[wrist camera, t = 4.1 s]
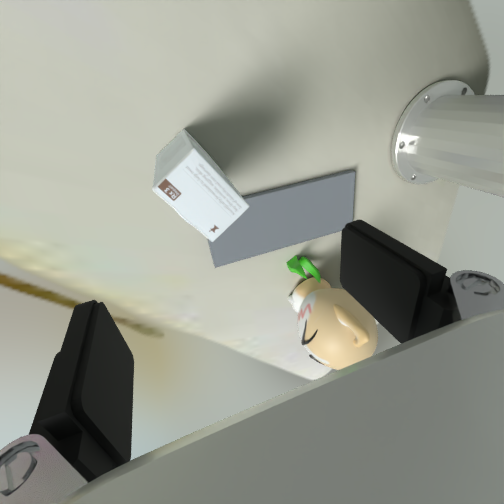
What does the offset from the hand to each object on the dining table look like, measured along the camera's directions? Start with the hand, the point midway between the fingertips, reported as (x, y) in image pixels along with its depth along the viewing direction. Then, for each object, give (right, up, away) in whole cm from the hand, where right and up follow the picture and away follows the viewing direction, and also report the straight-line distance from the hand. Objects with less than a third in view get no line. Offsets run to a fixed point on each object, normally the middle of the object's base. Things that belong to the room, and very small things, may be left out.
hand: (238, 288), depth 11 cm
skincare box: (-6, +11, +19) cm, 23 cm away
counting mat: (+4, +6, +26) cm, 27 cm away
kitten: (+9, -4, +33) cm, 35 cm away
